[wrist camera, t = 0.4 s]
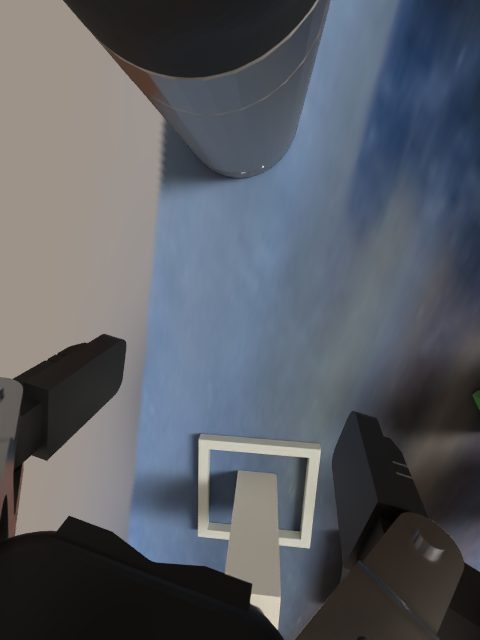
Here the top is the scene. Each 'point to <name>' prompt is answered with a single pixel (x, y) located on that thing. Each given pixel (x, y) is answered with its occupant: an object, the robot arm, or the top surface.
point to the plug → (256, 540)
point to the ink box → (477, 398)
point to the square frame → (262, 447)
